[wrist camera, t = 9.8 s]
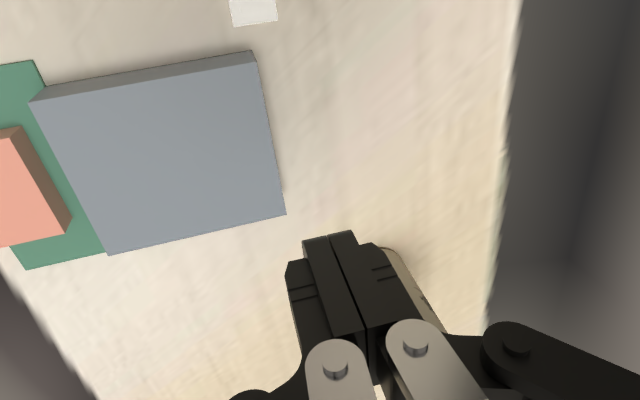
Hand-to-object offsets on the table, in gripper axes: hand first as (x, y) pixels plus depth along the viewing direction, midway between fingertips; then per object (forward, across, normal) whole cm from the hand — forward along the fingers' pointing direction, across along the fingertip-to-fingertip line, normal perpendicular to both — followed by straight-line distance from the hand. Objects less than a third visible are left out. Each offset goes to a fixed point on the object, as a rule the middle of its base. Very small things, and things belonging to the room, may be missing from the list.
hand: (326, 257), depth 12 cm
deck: (+26, +8, +7) cm, 28 cm away
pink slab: (+24, +21, +7) cm, 33 cm away
